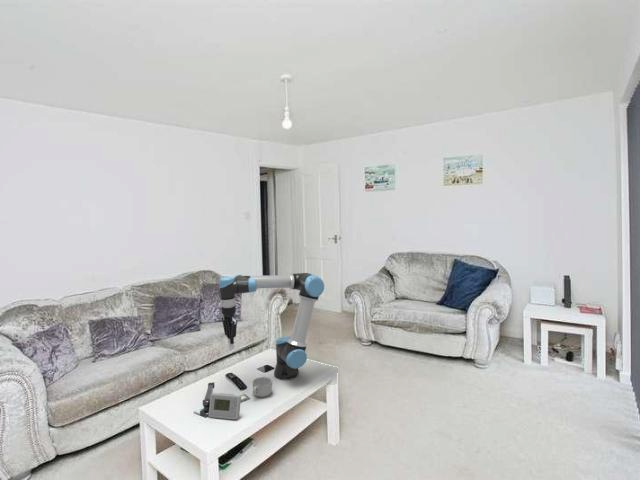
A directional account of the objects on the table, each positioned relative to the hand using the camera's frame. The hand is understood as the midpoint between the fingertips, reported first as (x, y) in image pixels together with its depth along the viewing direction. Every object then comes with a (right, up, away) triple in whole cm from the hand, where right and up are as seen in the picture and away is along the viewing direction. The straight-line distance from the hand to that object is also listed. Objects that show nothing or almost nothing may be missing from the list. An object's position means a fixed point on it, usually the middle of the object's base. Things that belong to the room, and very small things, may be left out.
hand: (231, 349), depth 196 cm
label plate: (+5, -27, -1) cm, 27 cm away
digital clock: (+1, -28, -17) cm, 33 cm away
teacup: (+16, -27, +3) cm, 31 cm away
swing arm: (-11, -23, -5) cm, 26 cm away
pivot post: (-9, -28, -13) cm, 32 cm away
